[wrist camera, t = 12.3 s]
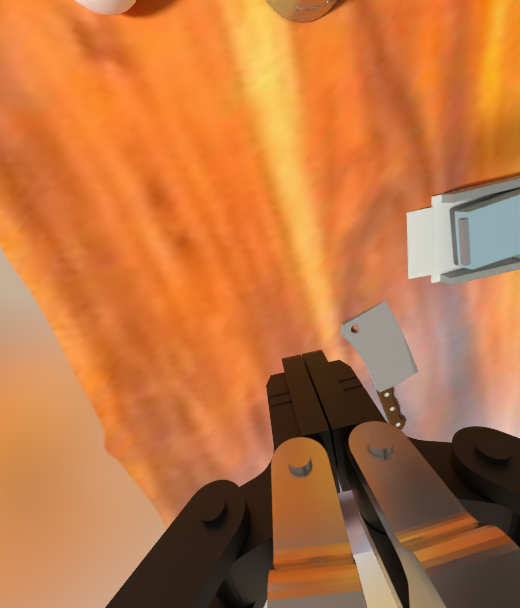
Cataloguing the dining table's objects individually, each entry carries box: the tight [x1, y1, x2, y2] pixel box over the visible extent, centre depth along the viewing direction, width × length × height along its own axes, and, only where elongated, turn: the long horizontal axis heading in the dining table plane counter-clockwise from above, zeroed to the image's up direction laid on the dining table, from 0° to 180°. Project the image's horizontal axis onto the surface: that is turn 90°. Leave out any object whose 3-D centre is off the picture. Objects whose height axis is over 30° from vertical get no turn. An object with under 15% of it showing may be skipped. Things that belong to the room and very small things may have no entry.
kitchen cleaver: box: [339, 301, 418, 430], centre depth 43 cm, size 24×1×10 cm
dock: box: [407, 176, 520, 285], centre depth 35 cm, size 12×15×2 cm
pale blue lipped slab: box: [449, 187, 520, 270], centre depth 33 cm, size 7×10×4 cm
